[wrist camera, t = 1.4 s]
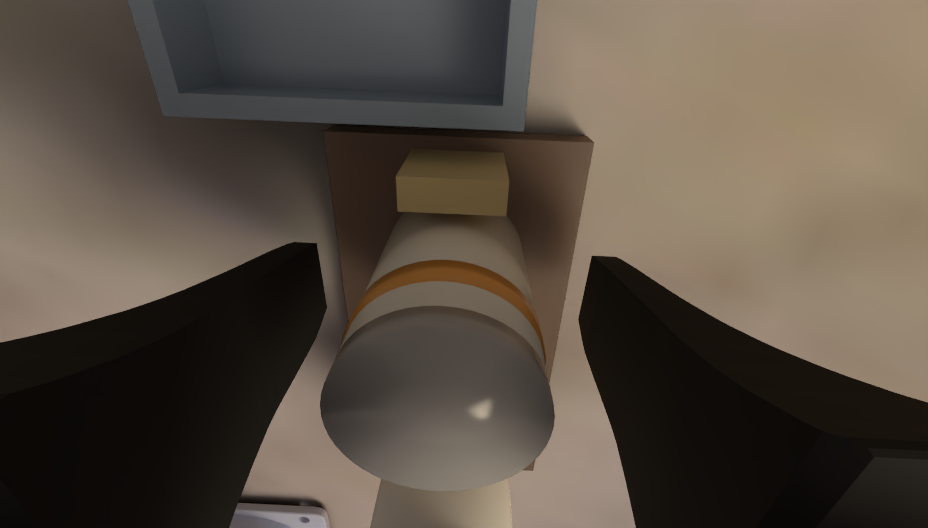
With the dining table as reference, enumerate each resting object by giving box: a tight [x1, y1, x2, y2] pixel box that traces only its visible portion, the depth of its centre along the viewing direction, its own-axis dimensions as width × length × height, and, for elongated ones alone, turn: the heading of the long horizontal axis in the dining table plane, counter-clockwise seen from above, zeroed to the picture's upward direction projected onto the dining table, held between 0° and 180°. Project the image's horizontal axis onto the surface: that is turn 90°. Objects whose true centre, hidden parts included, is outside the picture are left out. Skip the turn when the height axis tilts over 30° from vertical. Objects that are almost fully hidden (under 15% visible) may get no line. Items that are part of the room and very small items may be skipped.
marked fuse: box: [320, 212, 555, 491], centre depth 10 cm, size 4×4×6 cm
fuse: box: [370, 478, 512, 528], centre depth 13 cm, size 4×4×6 cm
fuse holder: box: [323, 125, 594, 471], centre depth 13 cm, size 7×14×3 cm, turn 178°
